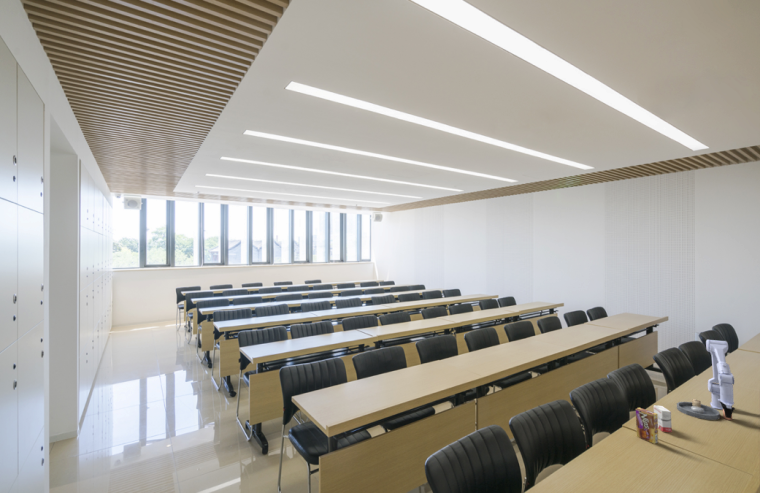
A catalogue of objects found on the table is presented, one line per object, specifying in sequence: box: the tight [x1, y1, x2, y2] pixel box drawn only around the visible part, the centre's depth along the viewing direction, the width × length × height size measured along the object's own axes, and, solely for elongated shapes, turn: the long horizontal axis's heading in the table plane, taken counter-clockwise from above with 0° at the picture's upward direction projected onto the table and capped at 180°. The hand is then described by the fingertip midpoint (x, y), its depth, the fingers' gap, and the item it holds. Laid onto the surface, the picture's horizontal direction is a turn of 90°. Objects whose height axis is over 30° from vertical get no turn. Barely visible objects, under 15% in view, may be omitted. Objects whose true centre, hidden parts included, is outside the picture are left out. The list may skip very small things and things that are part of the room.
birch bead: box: [691, 399, 702, 408], centre depth 223 cm, size 4×4×5 cm
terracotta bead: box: [722, 409, 733, 421], centre depth 209 cm, size 4×4×5 cm
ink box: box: [653, 404, 673, 433], centre depth 198 cm, size 9×5×12 cm, turn 168°
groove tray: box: [676, 401, 721, 421], centre depth 218 cm, size 20×20×3 cm
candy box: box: [635, 407, 659, 445], centre depth 187 cm, size 9×4×15 cm, turn 26°
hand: (727, 416), depth 209 cm, fingers closed on terracotta bead, 4 cm apart
